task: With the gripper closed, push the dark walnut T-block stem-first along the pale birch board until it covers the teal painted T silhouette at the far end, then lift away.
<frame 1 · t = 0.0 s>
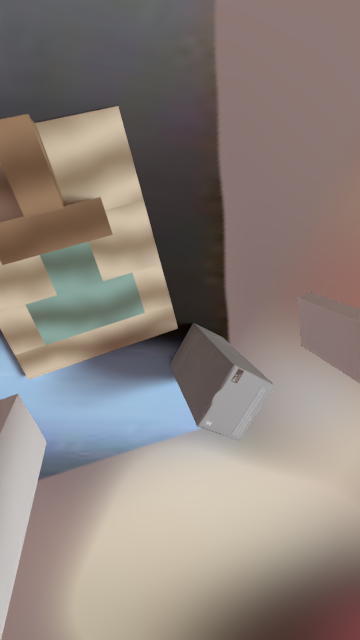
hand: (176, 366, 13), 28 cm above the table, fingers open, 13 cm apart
skincare box: (194, 348, 46), on the table
board: (69, 256, 36), on the table
t block: (56, 229, 33), point 1 cm above the table, touching board
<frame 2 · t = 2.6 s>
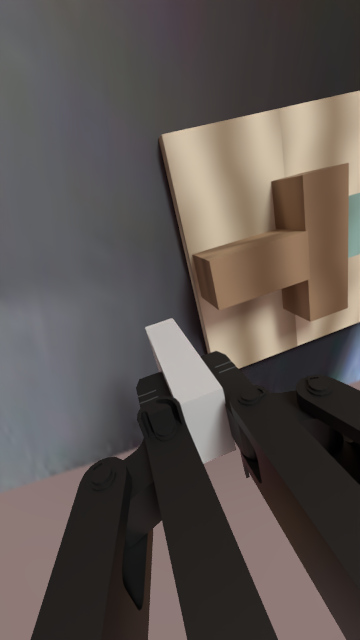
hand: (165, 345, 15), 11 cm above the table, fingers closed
board: (318, 234, 28), on the table
t block: (296, 244, 27), point 1 cm above the table, touching board
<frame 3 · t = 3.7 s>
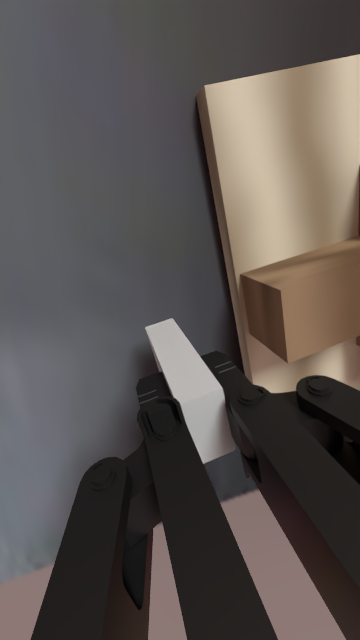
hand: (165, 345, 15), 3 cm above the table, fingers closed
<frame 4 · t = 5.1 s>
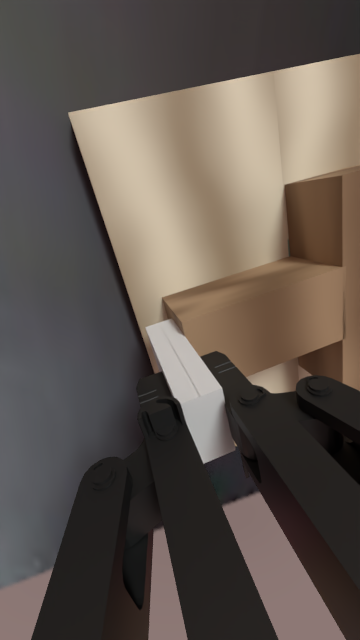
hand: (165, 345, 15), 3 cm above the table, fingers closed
board: (333, 264, 19), on the table
t block: (319, 277, 18), point 1 cm above the table
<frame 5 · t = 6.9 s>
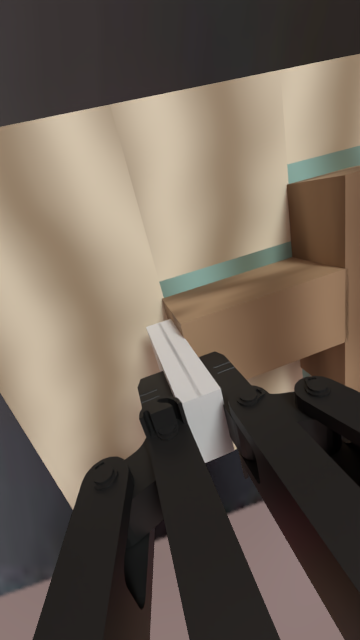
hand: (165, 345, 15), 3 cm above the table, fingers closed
board: (229, 302, 18), on the table
t block: (322, 279, 18), point 1 cm above the table, touching board, gripper
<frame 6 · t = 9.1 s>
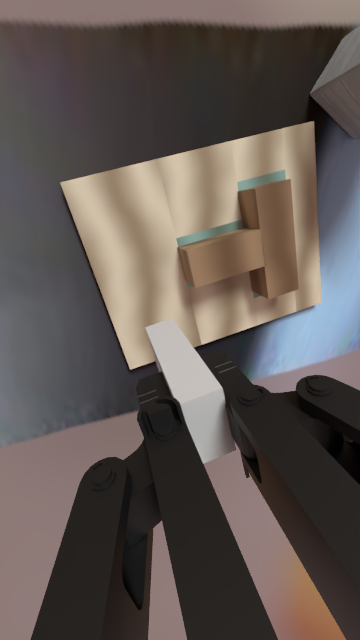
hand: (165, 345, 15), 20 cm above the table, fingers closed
skincare box: (342, 95, 32), on the table
board: (212, 252, 34), on the table
t block: (260, 240, 34), point 1 cm above the table, touching board
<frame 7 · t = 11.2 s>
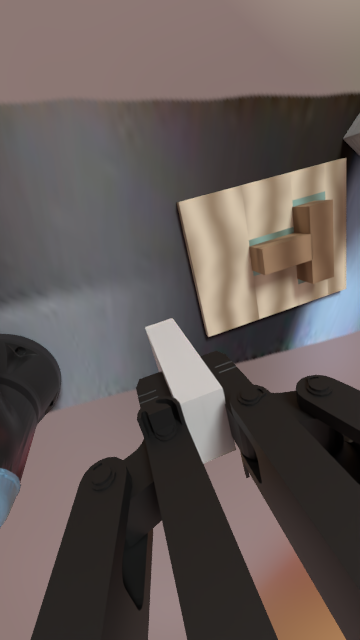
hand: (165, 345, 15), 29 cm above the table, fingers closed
board: (270, 250, 47), on the table
t block: (305, 241, 47), point 1 cm above the table, touching board
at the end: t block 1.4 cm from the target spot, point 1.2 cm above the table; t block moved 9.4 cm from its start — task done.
